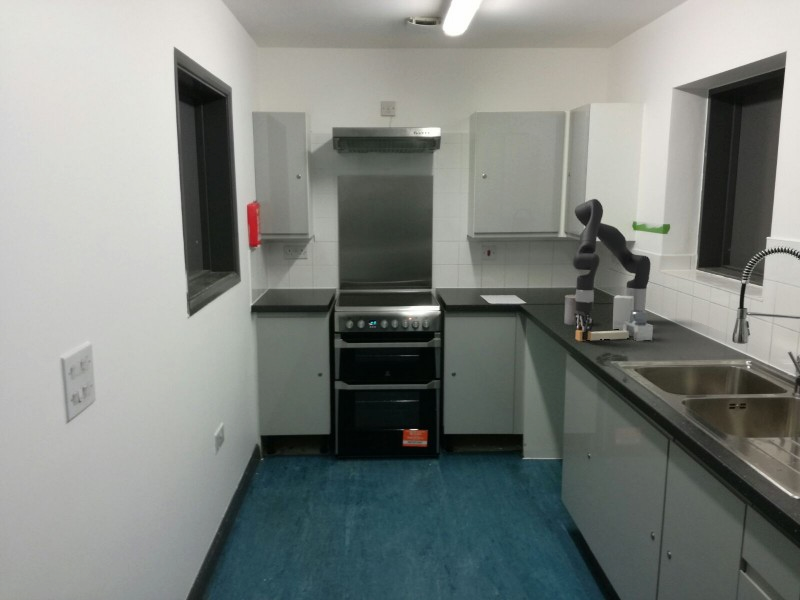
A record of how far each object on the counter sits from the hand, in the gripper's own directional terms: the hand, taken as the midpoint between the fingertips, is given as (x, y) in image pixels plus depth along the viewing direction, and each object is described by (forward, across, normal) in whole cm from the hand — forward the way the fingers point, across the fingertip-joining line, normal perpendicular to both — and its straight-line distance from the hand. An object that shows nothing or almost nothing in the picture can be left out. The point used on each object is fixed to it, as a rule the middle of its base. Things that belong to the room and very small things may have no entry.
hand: (582, 338), depth 259 cm
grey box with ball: (+1, 0, +26) cm, 26 cm away
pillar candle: (+1, -32, +11) cm, 34 cm away
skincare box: (+1, -17, +28) cm, 33 cm away
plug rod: (+1, 0, +9) cm, 9 cm away
